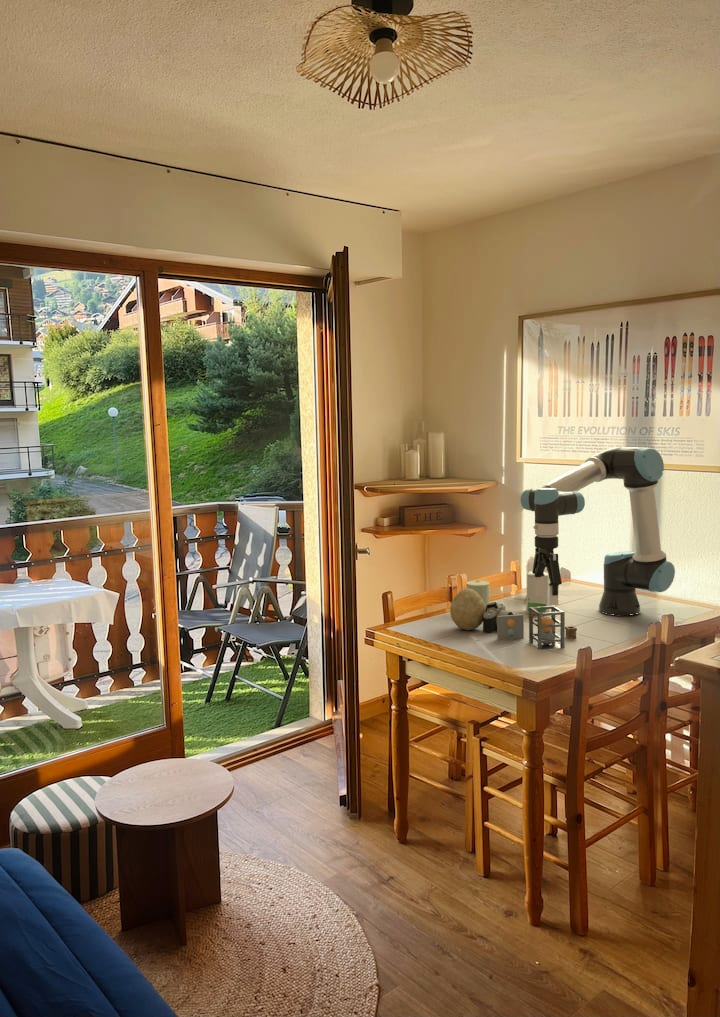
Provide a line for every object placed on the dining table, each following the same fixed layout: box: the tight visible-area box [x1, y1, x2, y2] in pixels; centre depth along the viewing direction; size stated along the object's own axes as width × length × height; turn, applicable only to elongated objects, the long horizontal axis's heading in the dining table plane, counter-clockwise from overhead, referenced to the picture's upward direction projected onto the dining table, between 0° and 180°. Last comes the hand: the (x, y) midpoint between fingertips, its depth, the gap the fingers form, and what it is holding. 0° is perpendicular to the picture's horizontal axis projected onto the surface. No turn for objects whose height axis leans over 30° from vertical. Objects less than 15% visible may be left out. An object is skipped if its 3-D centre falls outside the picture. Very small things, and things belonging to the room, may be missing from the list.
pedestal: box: [565, 625, 578, 640], centre depth 266 cm, size 5×5×4 cm
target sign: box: [496, 613, 525, 641], centre depth 267 cm, size 9×3×9 cm, turn 98°
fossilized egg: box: [449, 588, 486, 631], centre depth 282 cm, size 13×13×15 cm
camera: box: [482, 601, 514, 634], centre depth 279 cm, size 16×9×10 cm, turn 146°
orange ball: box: [542, 616, 554, 632], centre depth 257 cm, size 5×5×5 cm
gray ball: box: [542, 631, 554, 645], centre depth 259 cm, size 5×5×5 cm
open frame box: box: [528, 605, 566, 651], centre depth 258 cm, size 9×9×13 cm
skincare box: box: [526, 571, 551, 615], centre depth 303 cm, size 8×7×16 cm
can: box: [466, 580, 491, 607], centre depth 307 cm, size 9×9×12 cm
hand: (546, 600), depth 257 cm, fingers open, 12 cm apart
